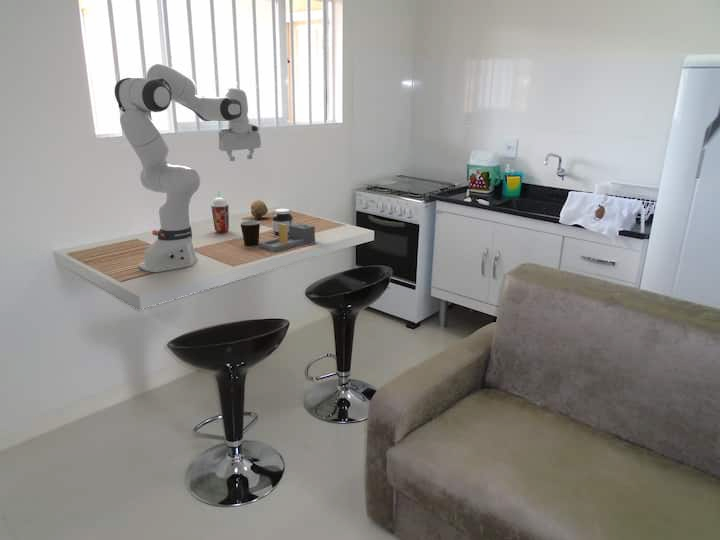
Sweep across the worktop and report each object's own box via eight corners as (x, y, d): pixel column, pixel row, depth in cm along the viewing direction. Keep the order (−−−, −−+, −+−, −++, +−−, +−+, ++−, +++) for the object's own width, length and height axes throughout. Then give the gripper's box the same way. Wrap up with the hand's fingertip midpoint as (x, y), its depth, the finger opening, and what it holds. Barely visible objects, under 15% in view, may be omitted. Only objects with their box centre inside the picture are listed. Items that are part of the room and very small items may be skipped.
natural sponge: (270, 216, 297) (269, 199, 294) (265, 220, 289) (264, 202, 286) (254, 216, 298) (253, 198, 295) (249, 219, 290) (247, 201, 287)
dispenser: (274, 251, 232) (273, 234, 230) (260, 247, 238) (259, 231, 236) (314, 241, 249) (314, 225, 246) (300, 237, 255) (300, 221, 253)
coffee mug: (256, 247, 239) (255, 225, 236) (238, 246, 240) (237, 224, 237) (266, 240, 250) (265, 219, 246) (249, 239, 251) (247, 218, 248)
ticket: (286, 244, 240) (285, 225, 237) (279, 242, 243) (278, 223, 240) (288, 244, 240) (287, 224, 237) (280, 242, 244) (279, 223, 241)
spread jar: (283, 236, 257) (282, 212, 253) (264, 233, 262) (263, 210, 258) (298, 231, 266) (297, 208, 263) (280, 228, 272) (278, 205, 268)
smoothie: (234, 231, 267) (231, 191, 260) (221, 234, 260) (218, 193, 254) (222, 228, 271) (218, 189, 265) (209, 232, 264) (206, 192, 258)
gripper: (222, 129, 224) (225, 162, 228) (261, 127, 238) (263, 158, 243) (214, 128, 228) (217, 161, 232) (253, 126, 242) (255, 157, 247)
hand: (241, 160), depth 238 cm, fingers open, 8 cm apart
